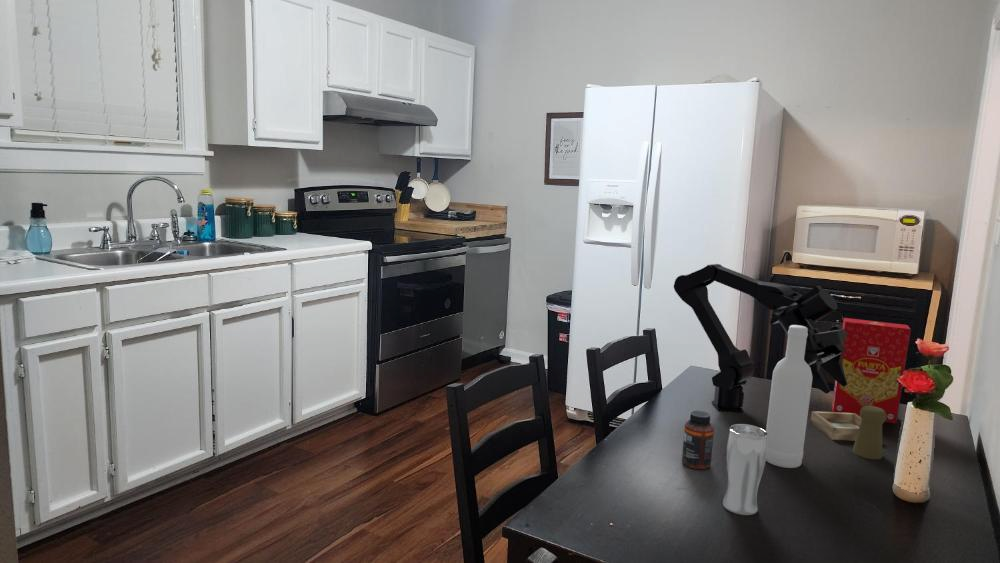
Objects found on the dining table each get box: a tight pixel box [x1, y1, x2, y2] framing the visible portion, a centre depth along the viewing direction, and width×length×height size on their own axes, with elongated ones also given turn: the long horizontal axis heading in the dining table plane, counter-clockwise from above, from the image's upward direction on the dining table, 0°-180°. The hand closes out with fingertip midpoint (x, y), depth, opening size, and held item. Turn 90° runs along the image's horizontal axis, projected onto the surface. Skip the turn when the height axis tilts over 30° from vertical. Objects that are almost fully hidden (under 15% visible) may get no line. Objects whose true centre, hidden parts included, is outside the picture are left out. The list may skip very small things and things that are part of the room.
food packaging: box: [831, 317, 912, 424], centre depth 176 cm, size 15×5×25 cm, turn 67°
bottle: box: [765, 325, 813, 469], centre depth 144 cm, size 8×8×30 cm
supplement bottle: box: [681, 410, 715, 470], centre depth 142 cm, size 6×6×11 cm
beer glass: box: [722, 423, 768, 516], centre depth 124 cm, size 7×7×15 cm
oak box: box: [810, 410, 862, 442], centre depth 165 cm, size 11×11×3 cm
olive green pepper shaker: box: [852, 406, 886, 460], centre depth 152 cm, size 6×6×11 cm
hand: (837, 389), depth 157 cm, fingers open, 9 cm apart
